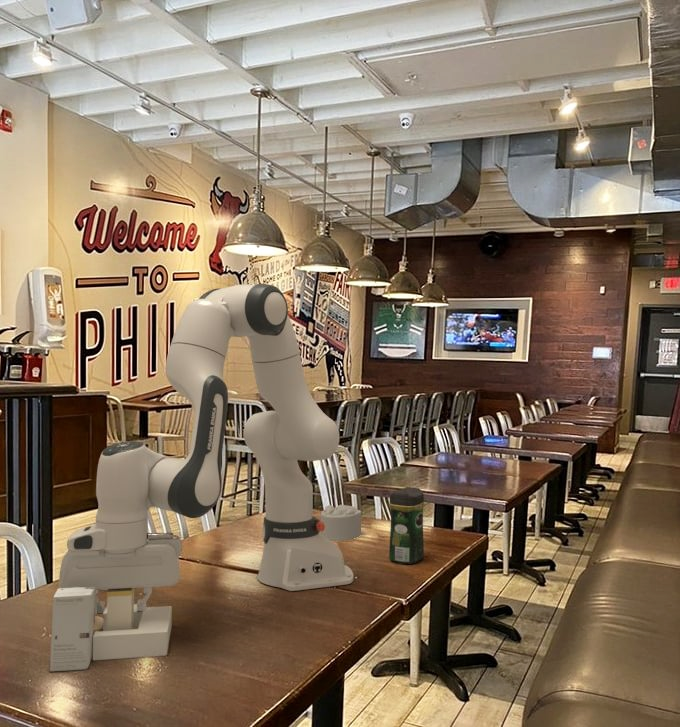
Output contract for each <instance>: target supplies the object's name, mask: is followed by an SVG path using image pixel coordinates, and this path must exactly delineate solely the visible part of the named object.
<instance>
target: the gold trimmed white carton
mask: <svg viewBox="0 0 680 727" xmlns="http://www.w3.org/2000/svg"><path fill="white" fill-rule="evenodd" d="M106 600H107V601H106V607H107V631H114V630H131V629H134V604H135V588H122V589H108V590H106Z"/></svg>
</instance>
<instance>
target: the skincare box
mask: <svg viewBox="0 0 680 727" xmlns="http://www.w3.org/2000/svg"><path fill="white" fill-rule="evenodd" d="M94 599H95V587H73V588H60V587H59V588H57V589H56V591H55V593H54V595H53V598H52V615H51V637H50V659H49V662H50V663H49V672H61V671H63V672H66V671H78V670H87V669H89V666H90V663H91V662H92V659H93V636H94V634H93V621H94Z"/></svg>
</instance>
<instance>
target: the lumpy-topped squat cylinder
mask: <svg viewBox="0 0 680 727" xmlns="http://www.w3.org/2000/svg"><path fill="white" fill-rule="evenodd" d="M320 521H321V522H323V523H324V525H325V529H323V530H324V531H322V532H320V533H321V534H323V535H324V536H325V537H326V538H328V539H329V540H330V541H342V542H345V541H344V540H350V539H353V540H355V539H354V538H356V539H358V538H360V537H361V536H362V511H361V510H360V509H357V508H356V507H355V506H352V505H345V504H339V505H337V506H335V507H334V506H333V505H332V504H329V505H327V506H325V508H324V509H323V510H322V511H321V512H320ZM360 535H361V536H360ZM359 536H360V537H359ZM357 537H358V538H357ZM350 541H351V540H350Z"/></svg>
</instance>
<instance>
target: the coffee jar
mask: <svg viewBox="0 0 680 727" xmlns="http://www.w3.org/2000/svg"><path fill="white" fill-rule="evenodd" d="M424 496H425V495H424V492H423V491H422V490H421V488H419V487H413V486H412V487H411V486H405V487H404V488H401V489H399V490H395V491H393V492H391V493H390V494H389V510H390V534H389V536H390V537H389V547H388V548H389V549H388V550H389V551H388V552H389V553H388V556H389V557H388V559H389V560H390V561H392V562H395V563H396V564H401V565H404V564H409V565H412V564H415V563H418V562H419V561H420V560H422V559H423V558H424V555H425V552H424V551H425V550H424V549H425V548H424V547H425V546H424V545H425V544H424V506H425V500H424V498H425V497H424Z"/></svg>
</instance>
